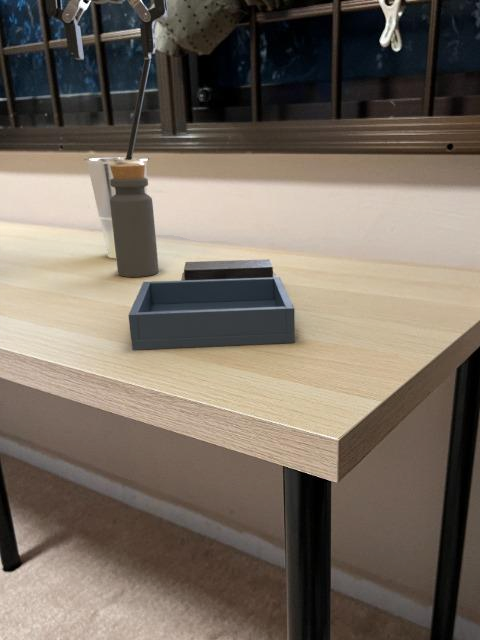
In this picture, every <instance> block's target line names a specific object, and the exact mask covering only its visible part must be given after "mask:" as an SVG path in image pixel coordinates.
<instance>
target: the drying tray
mask: <svg viewBox="0 0 480 640" xmlns="http://www.w3.org/2000/svg"><path fill="white" fill-rule="evenodd" d="M128 324H129V332H130V340H131V341H130V342H131V349H132V350H133V351H143V350H162V349H163V350H164V349H165V350H166V349H183V348H185V349H186V348H188V349H189V348H208V347H228V346H229V347H230V346H233V347H234V346H249V345H251V346H252V345H272V344H273V345H275V344H295V327H296V326H295V306H294V305H293V302H292V300H291V298H290V296H289V294H288V292H287V290H286V287H285V285H284V283H283V281H282V279H281V277H280V276H276V277H271V278H241V279H212V280H182V281H181V280H162V281H161V280H157V281H155V280H154V281H153V280H152V281H143V282H142V284H141V286H140V289H139V291H138V293H137V295H136V298H135V299H134V302H133V304H132V306H131V308H130V311H129V312H128Z"/></svg>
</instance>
